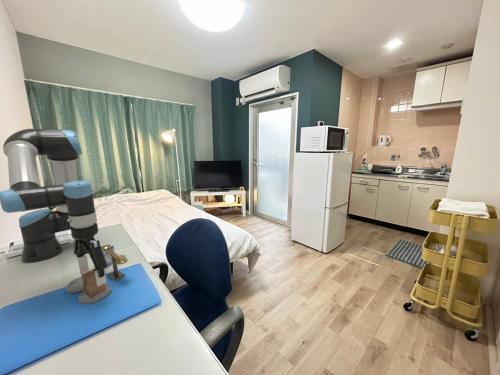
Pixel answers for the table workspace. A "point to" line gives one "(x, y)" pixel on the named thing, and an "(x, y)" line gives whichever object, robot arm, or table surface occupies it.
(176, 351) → the table surface
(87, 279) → the block
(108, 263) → the medicine box
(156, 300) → the table surface
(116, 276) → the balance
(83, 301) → the dish
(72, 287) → the dish
